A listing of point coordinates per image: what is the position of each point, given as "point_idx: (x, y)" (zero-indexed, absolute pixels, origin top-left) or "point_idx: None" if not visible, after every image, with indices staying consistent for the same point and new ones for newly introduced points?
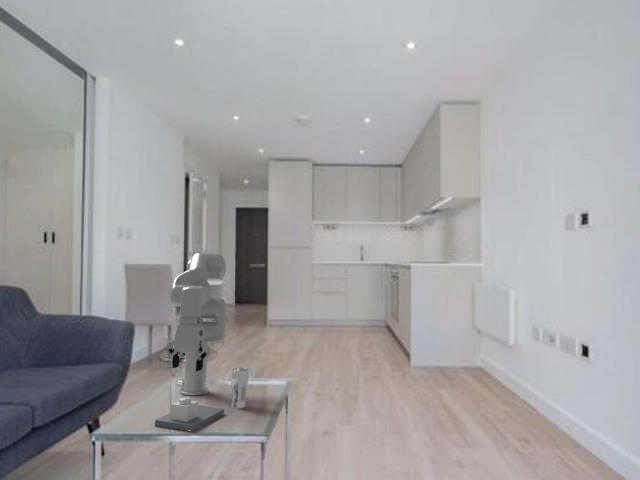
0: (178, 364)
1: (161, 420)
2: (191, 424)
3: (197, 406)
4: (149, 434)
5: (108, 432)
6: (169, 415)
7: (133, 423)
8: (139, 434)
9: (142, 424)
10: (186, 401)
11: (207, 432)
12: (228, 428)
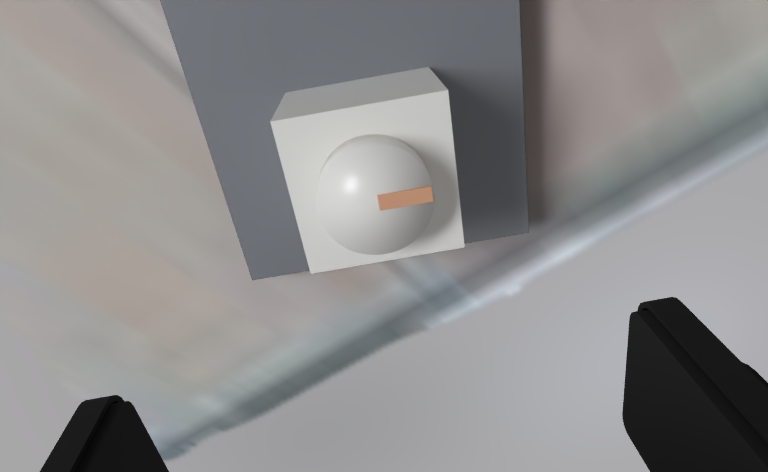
0: (115, 443)
1: (291, 266)
2: (506, 219)
3: (440, 82)
4: (346, 353)
5: (165, 429)
6: (244, 166)
7: (121, 296)
8: (305, 376)
9: (177, 280)
10: (422, 226)
11: (602, 173)
12: (696, 35)
